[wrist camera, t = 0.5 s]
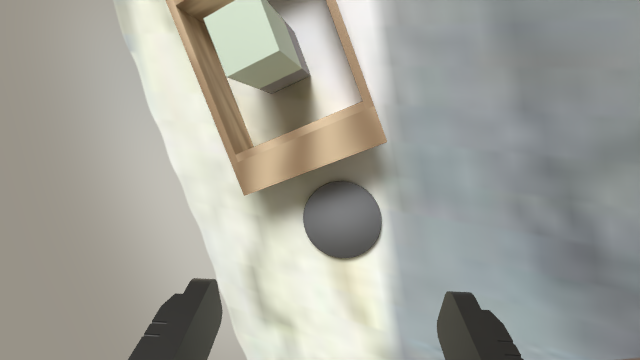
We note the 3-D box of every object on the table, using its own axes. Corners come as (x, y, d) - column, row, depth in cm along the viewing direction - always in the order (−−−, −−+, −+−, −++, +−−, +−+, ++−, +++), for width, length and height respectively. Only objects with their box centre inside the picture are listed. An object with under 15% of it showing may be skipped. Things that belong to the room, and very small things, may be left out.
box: (294, 32, 32) (255, -12, 23) (310, 75, 33) (279, 50, 23) (255, 52, 34) (203, 18, 24) (271, 93, 34) (226, 76, 24)
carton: (305, -84, 30) (290, -125, 26) (386, 140, 32) (387, 142, 27) (185, -9, 34) (152, -33, 29) (263, 187, 36) (244, 195, 31)
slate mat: (365, 170, 33) (364, 170, 32) (392, 243, 34) (392, 245, 33) (293, 195, 35) (292, 196, 35) (320, 264, 36) (319, 266, 35)
